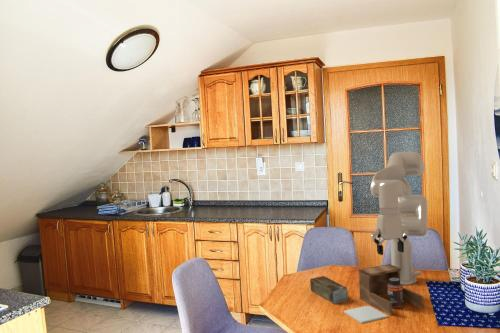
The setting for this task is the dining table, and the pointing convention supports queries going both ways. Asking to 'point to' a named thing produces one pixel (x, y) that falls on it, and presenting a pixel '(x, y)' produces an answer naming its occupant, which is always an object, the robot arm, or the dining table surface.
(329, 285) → the beverage carton
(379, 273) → the brown boxy piece
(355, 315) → the tile
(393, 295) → the supplement bottle
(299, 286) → the dining table surface
